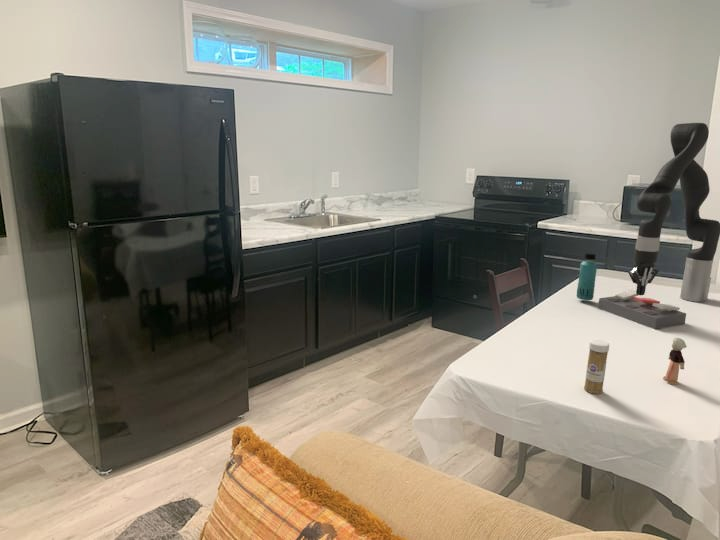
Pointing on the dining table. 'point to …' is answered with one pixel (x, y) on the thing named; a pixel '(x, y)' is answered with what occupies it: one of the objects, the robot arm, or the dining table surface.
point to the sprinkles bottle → (596, 366)
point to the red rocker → (646, 300)
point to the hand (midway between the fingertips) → (640, 294)
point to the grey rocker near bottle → (626, 295)
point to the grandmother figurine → (675, 361)
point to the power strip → (642, 312)
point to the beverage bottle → (587, 278)
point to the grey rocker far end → (666, 306)
